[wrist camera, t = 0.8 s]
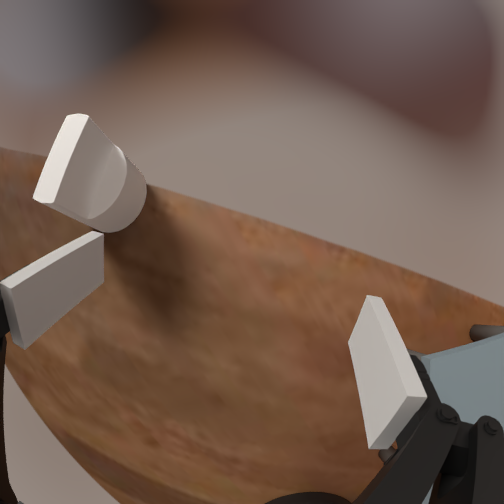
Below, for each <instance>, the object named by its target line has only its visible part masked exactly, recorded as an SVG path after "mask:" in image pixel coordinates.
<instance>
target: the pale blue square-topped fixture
mask: <svg viewBox="0 0 504 504" xmlns="http://www.w3.org/2000/svg"><path fill="white" fill-rule="evenodd" d="M470 338H471V339H472V340H476V342H473V343H470V344H466V345H463V346H460V347H456V348H452V349H449V350H445V351H441V352H437V353H433V354H429V355H426V354H422V353H419V352H416V351H412V350H409V349H407V351H408V353H409V355H416V356H417V357H418V359H419V360H420V361H421V362H422V363H423V364H424V366H425V368H426V370H427V374H428V375H429V377H430V381H432V383H433V385H434V388H435V390H436V392H437V394H438V397H439V399H440V401H441V403H445V404H447V405H449V406H451V407H452V408H454V409H455V410H456V412H457V413H458V414H459V417H460V420H461V421H463V422H467V423H471V424H475V423H476V422H477V420H478V419H479V418H480V417H481V416H484V415H487V416H491V417H493V418H495V419H497V421H499V422H500V424H501V426H502V427H503V431H504V326H491V325H473V326H472V327H471V329H470ZM395 451H396V450H395V449H394V448H393V447H392V446H390V447H389V448H388V449H381V450H380V451H379V457H380V458H381V460H382V461H383V462H384V463H385V462H386V461H387V460H388V458H389V457H390V456H391V455H392V454H393V453H394V452H395ZM432 487H433V485H432ZM432 487H431V489H430V490H429V492H428V494H427V496H426V497H425V499H424V501H423V503H422V504H428V503H429V499H430V495H431V491H432Z"/></svg>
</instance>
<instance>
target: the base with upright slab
mask: <svg viewBox="0 0 504 504" xmlns="http://www.w3.org/2000/svg"><path fill="white" fill-rule="evenodd" d="M146 194H147V189H146V182H145V179H144V176H143V175H142V173H141V172H140V171H139V169H138V168H137V167H136V166H135V165H134V164H133V163H132V162H131V161H130V159H128V157H127V156H126V155H125V154H124V153H123V152H122V151H121V149H120V148H118V147H117V146H116V145H114V144H113V143H112V142H111V140H110V139H109V138H108V137H107V136H106V135H105V134H104V132H103V131H102V130H101V129H100V128H99V127H98V126H97V125H96V124H95V122H94V121H93V120H92V119H91V118H90V117H89V116H88V115H84V114H73V115H68V116H67V117H66V119H65V121H64V123H63V125H62V127H61V129H60V131H59V133H58V136H57V138H56V140H55V142H54V145H53V147H52V149H51V151H50V154H49V156H48V158H47V161H46V163H45V166H44V168H43V171H42V173H41V176H40V179H39V181H38V184H37V187H36V190H35V192H34V195H33V198H34V199H35V200H37V201H39V202H41V203H43V204H45V205H47V206H49V207H51V208H53V209H55V210H57V211H59V212H61V213H63V214H65V215H67V216H69V217H71V218H73V219H75V220H77V221H80V222H82V223H84V224H86V225H88V226H90V227H92V228H94V229H97V230H99V231H101V232H107V233H112V232H116V231H120V230H122V229H124V228H126V227H127V226H129V225H130V224H131V223H132V222H133V221H134V220H135V219H136V218H137V216H138V215H139V214H140V212H141V210H142V208H143V206H144V204H145V199H146Z"/></svg>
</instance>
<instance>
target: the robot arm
mask: <svg viewBox="0 0 504 504" xmlns="http://www.w3.org/2000/svg"><path fill="white" fill-rule="evenodd" d="M102 283H104V234H102V233H98V232H94V231H91V232H89V233H87V234H85V235H83V236H81V237H79V238H78V239H76V240H74V241H72V242H70V243H68V244H66V245H64V246H62V247H60V248H59V249H57V250H55V251H53V252H51V253H49V254H48V255H46V256H44V257H42V258H40V259H39V260H37V261H35V262H33V263H31V264H29V265H26V266H25V267H23V268H21V269H20V270H19V271H16V272H14V273H13V275H12V274H11V275H9V276H8V277H6V278H4V279H3V280H1V281H0V504H23V503H22V502H21V501H19V502H18V501H17V498H16V496H15V494H14V492H13V490H12V488H11V486H10V483H9V479H8V471H7V463H6V454H5V442H4V426H3V425H4V424H3V386H4V366H5V355H6V345H7V341H6V337H5V334H7V333H8V332H9V331H10V333H11V336H12V340H13V343H15V344H16V345H18V346H20V347H21V348H23V349H26V348H28V347H29V346H30V345H31V344H32V343H33V342H34V341H35V340H36V339H38V338H39V337H40V336H41V335H42V334H43V333H44V332H45V331H47V330H48V329H49V328H50V327H51V326H52V325H53V324H55V323H56V322H57V321H58V320H59V319H60V318H61V317H63V316H64V315H65V314H66V313H67V312H68V311H70V310H71V309H72V308H73V307H74V306H76V305H77V304H78V303H79V302H80V301H82V300H83V299H84V298H85V297H86V296H88V295H89V294H90V293H91V292H92V291H94V290H95V289H96V288H97V287H99V286H100V285H101V284H102ZM348 344H349V348H350V353H351V357H352V362H353V367H354V371H355V376H356V381H357V386H358V391H359V396H360V401H361V407H362V412H363V418H364V423H365V429H366V435H367V441H368V448H369V449H388V448H389V447H390V446H391V445H392V443H393V442H394V441H395V440H396V442H397V446H398V448H397V449H396V451H395V452H394V453H393V454H392V455H391V456H390V457H389V458H388V460H387V461H386V462H385V463H384V466H383V467H382V469H381V470H380V471H379V473H378V474H377V475H376V476H375V478H374V479H373V480H372V481H371V482H370V484H369V485H368V486H367V487H366V488H365V490H364V491H363V492H362V493H361V494H360V495H359V496H358V498H357V499H356V500H355V501H354V502H353V503H352V504H422V503H423V501H424V499H425V497H426V496H427V494H428V492H429V490H430V489H431V487H432V485H433V487H432V491H431V495H430V499H429V503H428V504H504V431H503V427H502V426H501V424H500V422H499V421H497V419H495V418H493V417H491V416H487V415H484V416H481V417H480V418H479V419H478V420H477V422H476V423H475V424H471V423H467V422H463V421H461V420H460V417H459V414H458V413H457V412H456V410H455V409H454V408H452V407H451V406H449V405H447V404H445V403H441V401H440V399H439V397H438V394H437V392H436V390H435V388H434V385H433V383H432V381H430V377H429V375H428V374H427V370H426V368H425V366H424V364H423V363H422V362H421V361H420V360H419V359H418V357H417V356H416V355H409V353H408V351H407V349H406V347H405V345H404V342H403V340H402V338H401V336H400V334H399V332H398V330H397V328H396V326H395V324H394V322H393V320H392V318H391V316H390V314H389V312H388V310H387V308H386V306H385V304H384V302H383V300H382V298H380V297H375V296H370V295H367V297H366V299H365V302H364V304H363V307H362V310H361V312H360V315H359V317H358V320H357V322H356V325H355V327H354V329H353V332H352V334H351V337H350V339H349V341H348ZM265 504H351V503H350V502H349V501H347V500H346V499H344V498H342V497H340V496H337V495H334V494H329V493H322V492H304V493H296V494H291V495H286V496H283V497H280V498H277V499H274V500H272V501H269V502H267V503H265Z"/></svg>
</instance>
